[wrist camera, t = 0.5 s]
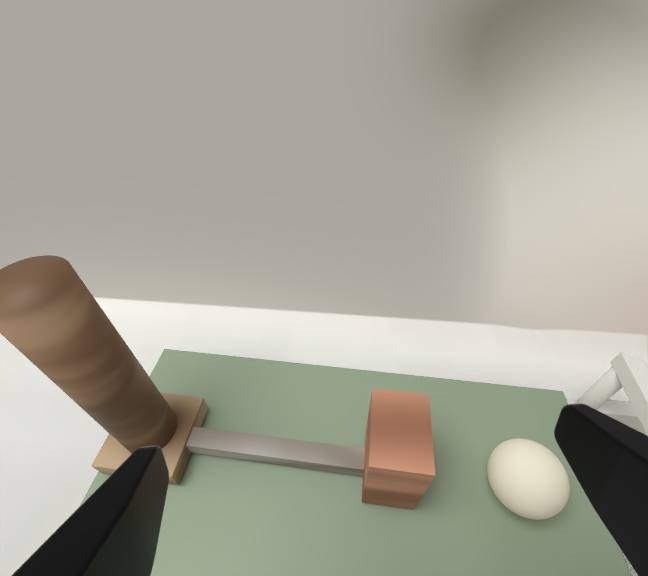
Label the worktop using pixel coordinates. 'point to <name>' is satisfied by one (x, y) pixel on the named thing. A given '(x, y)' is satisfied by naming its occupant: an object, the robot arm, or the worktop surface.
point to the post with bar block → (188, 411)
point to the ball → (528, 479)
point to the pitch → (346, 490)
